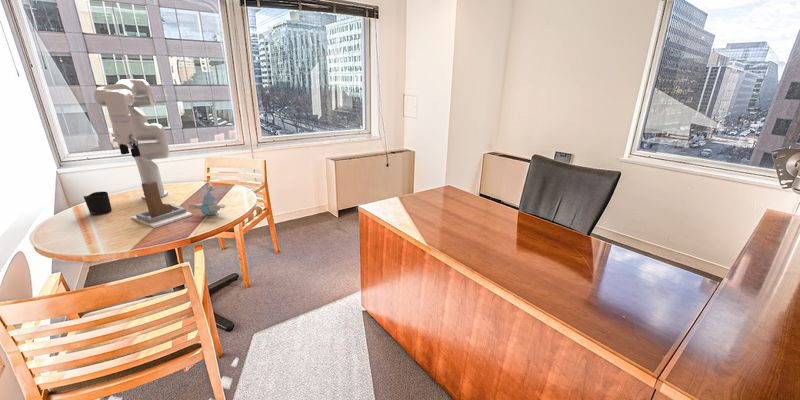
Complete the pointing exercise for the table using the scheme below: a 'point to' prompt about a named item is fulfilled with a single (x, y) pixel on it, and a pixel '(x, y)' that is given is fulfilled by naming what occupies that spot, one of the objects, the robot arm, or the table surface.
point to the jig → (162, 217)
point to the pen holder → (98, 203)
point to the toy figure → (208, 203)
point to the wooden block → (154, 200)
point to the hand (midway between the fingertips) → (131, 155)
